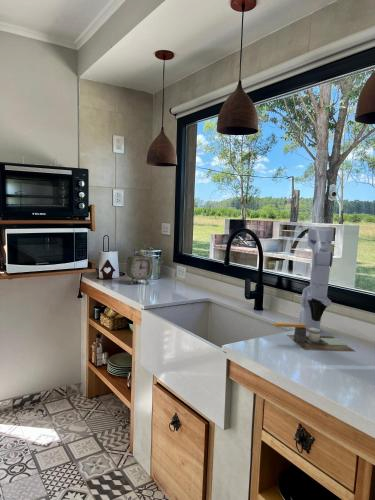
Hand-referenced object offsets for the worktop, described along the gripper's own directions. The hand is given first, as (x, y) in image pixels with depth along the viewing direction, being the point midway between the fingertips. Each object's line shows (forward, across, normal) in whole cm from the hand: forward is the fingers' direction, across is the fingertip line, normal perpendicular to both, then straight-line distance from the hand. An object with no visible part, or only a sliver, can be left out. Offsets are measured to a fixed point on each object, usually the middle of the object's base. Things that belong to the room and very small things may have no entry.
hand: (315, 320), depth 135 cm
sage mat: (+8, -1, +8) cm, 12 cm away
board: (+9, 0, +2) cm, 10 cm away
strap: (+3, 0, -10) cm, 10 cm away
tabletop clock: (+10, -102, -64) cm, 121 cm away
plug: (+8, 0, 0) cm, 8 cm away
